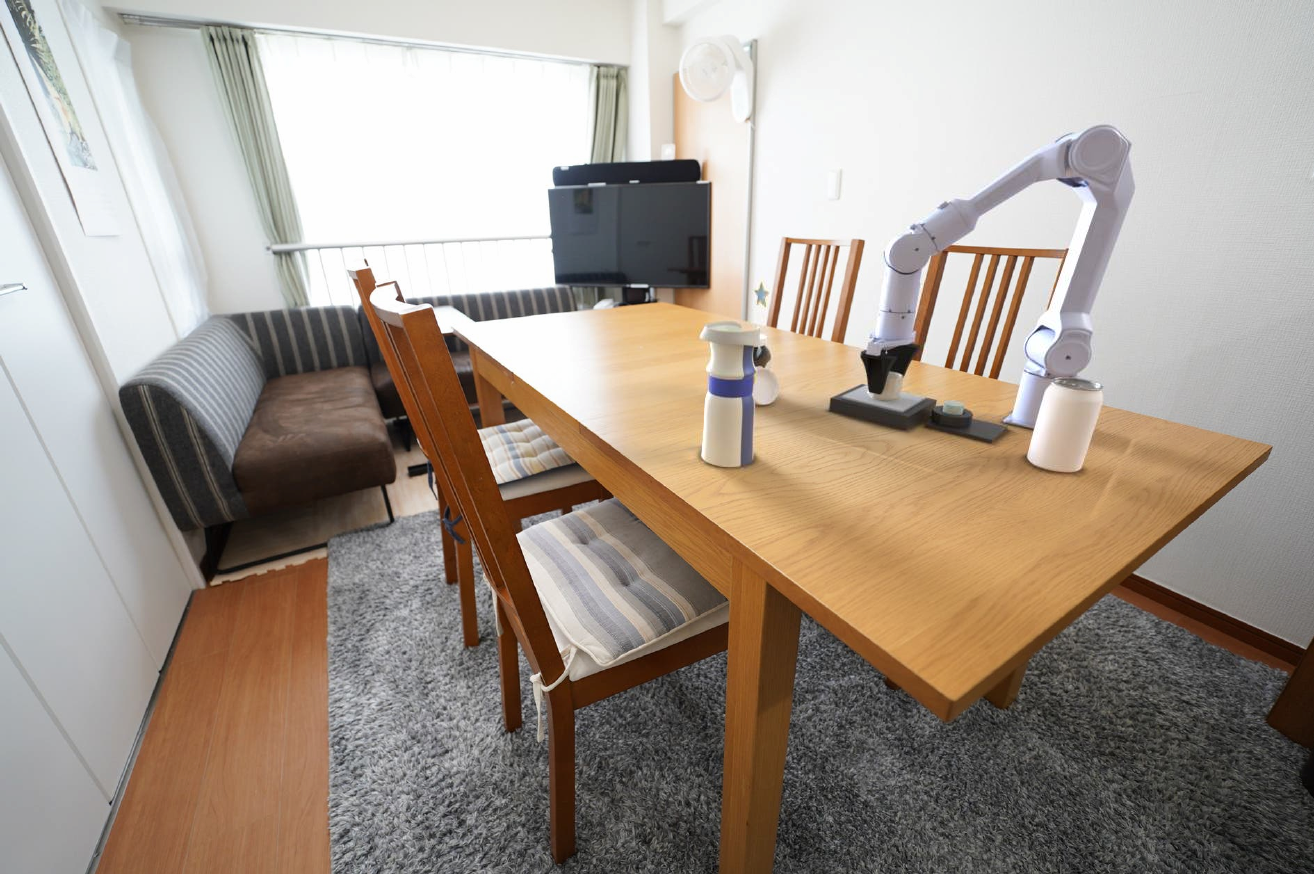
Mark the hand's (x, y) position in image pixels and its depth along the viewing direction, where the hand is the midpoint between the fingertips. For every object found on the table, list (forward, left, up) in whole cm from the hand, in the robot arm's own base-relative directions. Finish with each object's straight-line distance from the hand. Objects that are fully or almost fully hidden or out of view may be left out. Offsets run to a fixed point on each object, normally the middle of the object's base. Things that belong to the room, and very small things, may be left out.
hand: (884, 388), depth 96 cm
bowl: (0, 0, -2) cm, 2 cm away
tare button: (-11, -2, -2) cm, 11 cm away
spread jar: (+22, +9, -5) cm, 24 cm away
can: (-27, +4, -5) cm, 28 cm away
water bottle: (+8, +34, -5) cm, 35 cm away
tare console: (-13, -2, -5) cm, 14 cm away
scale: (0, 0, -5) cm, 5 cm away
